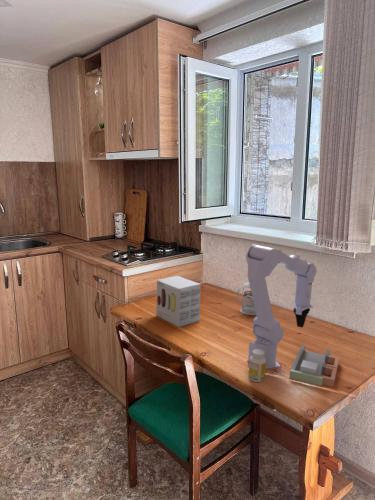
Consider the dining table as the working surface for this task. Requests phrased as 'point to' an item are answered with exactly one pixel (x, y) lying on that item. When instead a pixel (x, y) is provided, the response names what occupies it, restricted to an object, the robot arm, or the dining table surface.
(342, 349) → the dining table surface
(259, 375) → the supplement bottle
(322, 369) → the box
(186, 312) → the supplement box
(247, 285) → the french press
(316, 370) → the block
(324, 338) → the dining table surface
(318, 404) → the dining table surface
